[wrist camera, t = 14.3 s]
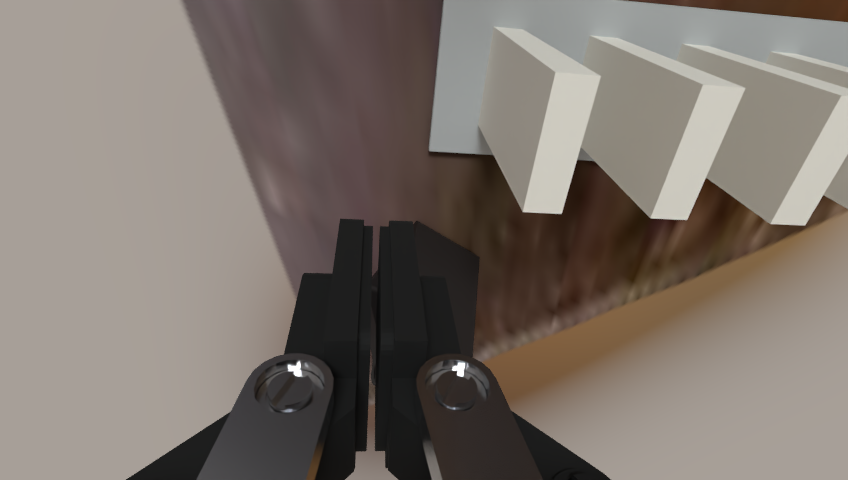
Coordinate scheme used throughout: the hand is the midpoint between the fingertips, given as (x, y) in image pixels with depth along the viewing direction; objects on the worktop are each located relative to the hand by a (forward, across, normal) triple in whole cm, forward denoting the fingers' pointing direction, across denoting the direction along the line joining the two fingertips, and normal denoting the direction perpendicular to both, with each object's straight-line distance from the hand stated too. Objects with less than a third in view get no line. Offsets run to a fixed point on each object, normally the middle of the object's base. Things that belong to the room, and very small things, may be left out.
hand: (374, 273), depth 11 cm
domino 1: (+21, -8, 0) cm, 22 cm away
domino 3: (+20, -20, 0) cm, 28 cm away
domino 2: (+21, -14, 0) cm, 25 cm away
